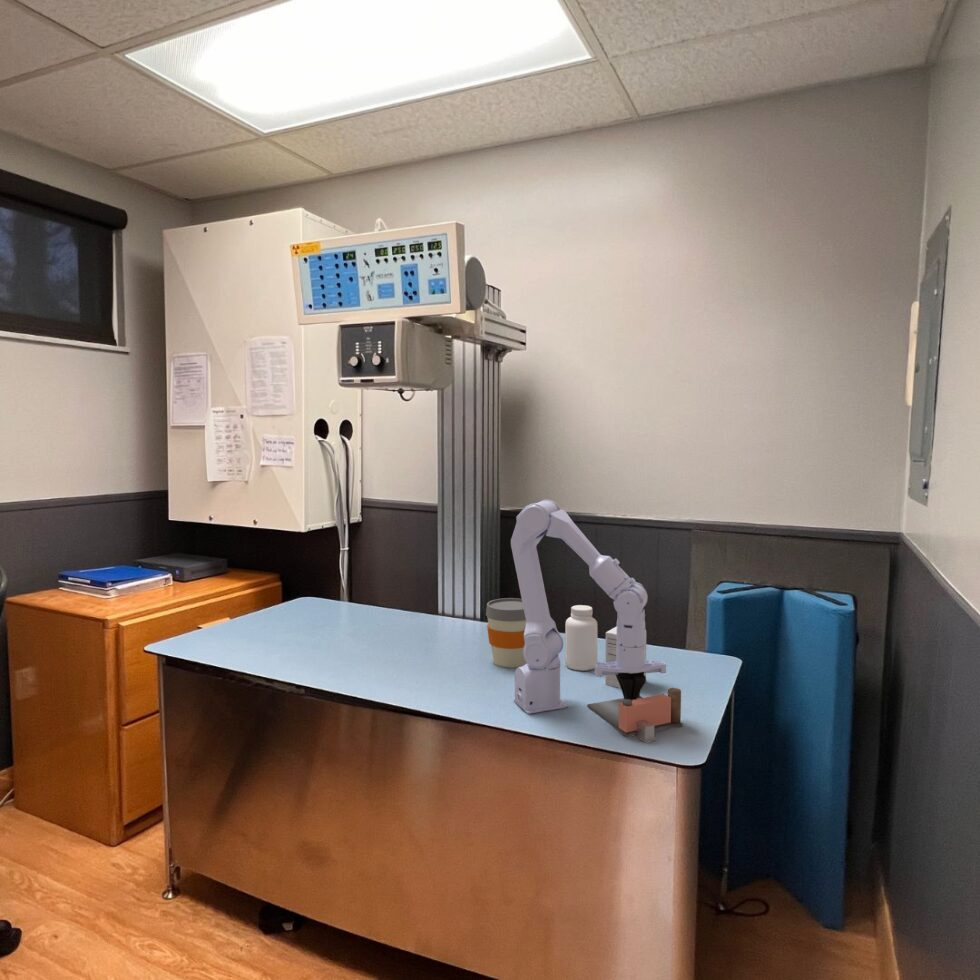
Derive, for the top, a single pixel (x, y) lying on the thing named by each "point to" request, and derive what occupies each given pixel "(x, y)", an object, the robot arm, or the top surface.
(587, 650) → the pill bottle
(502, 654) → the reusable coffee cup
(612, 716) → the peg mounting fixture
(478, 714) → the top surface
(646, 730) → the block
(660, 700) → the rail
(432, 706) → the top surface
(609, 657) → the supplement box
